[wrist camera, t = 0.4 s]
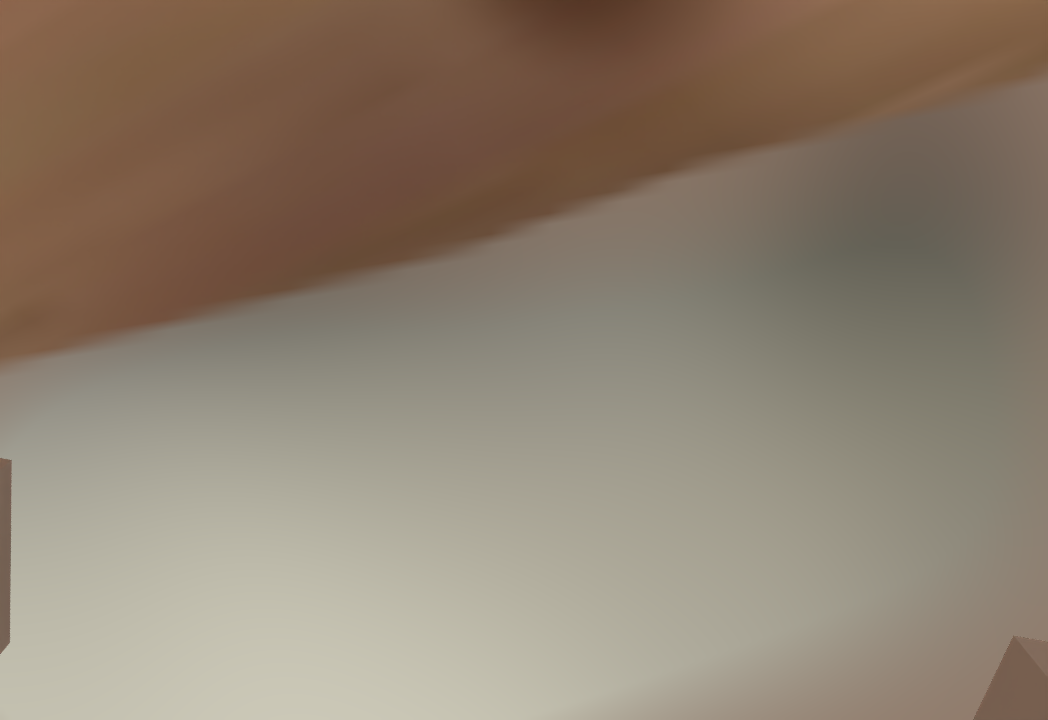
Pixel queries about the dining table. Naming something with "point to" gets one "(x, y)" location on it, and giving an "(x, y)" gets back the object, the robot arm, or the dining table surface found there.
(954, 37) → the dining table surface
